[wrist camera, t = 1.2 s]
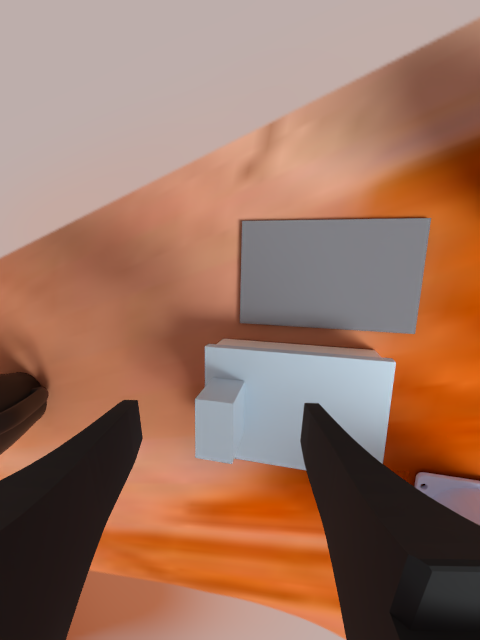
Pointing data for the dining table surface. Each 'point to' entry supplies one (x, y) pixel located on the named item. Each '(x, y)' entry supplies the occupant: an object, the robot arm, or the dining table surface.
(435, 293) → the dining table surface
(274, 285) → the mat
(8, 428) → the mug
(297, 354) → the lid
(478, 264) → the dining table surface
